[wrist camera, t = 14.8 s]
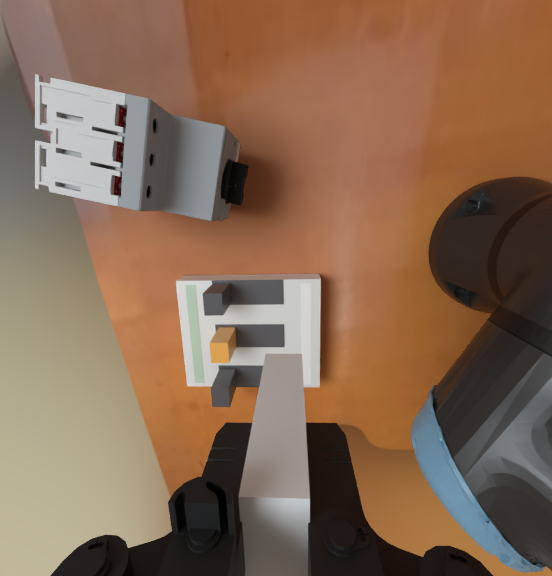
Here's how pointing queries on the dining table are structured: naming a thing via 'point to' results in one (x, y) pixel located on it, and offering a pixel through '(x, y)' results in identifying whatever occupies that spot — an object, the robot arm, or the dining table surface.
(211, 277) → the panel
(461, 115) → the dining table surface
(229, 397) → the block
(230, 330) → the block
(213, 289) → the block
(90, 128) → the circuit breaker
